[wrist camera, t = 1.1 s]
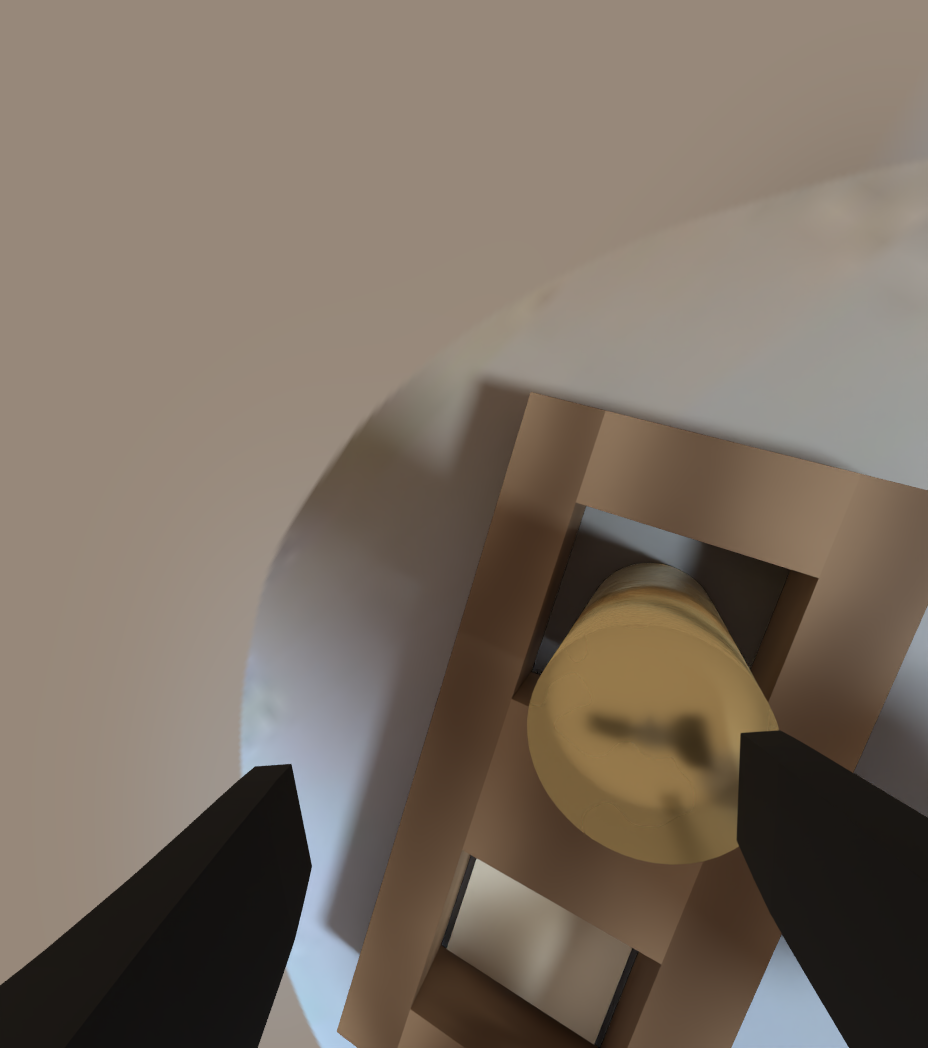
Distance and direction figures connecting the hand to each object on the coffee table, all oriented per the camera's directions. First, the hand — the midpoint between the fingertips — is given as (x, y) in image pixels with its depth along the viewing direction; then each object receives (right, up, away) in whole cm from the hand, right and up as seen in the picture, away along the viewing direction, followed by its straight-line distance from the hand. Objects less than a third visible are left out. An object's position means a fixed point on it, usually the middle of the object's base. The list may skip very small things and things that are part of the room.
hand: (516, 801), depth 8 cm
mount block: (+4, -5, +11) cm, 13 cm away
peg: (+6, +1, +10) cm, 12 cm away
